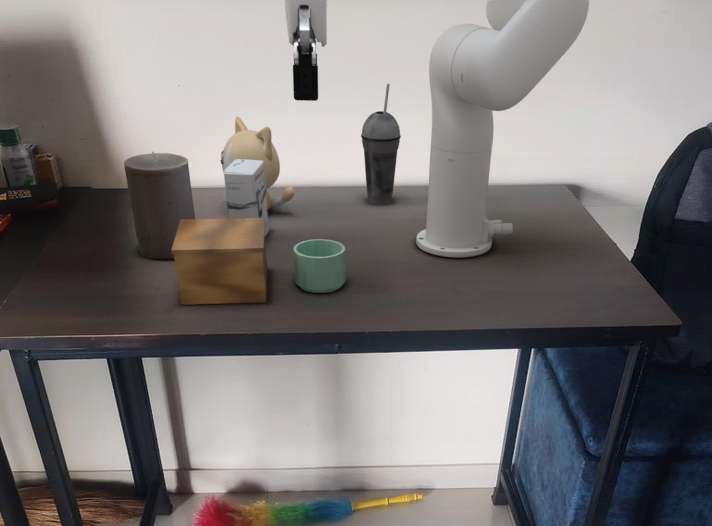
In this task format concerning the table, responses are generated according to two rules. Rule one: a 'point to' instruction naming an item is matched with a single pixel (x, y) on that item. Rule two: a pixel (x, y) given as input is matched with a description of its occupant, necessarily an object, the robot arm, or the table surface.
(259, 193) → the ink box
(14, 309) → the table surface
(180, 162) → the pillar candle
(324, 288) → the teal green pot
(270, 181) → the kitten
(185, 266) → the wooden stand
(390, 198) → the beverage cup
